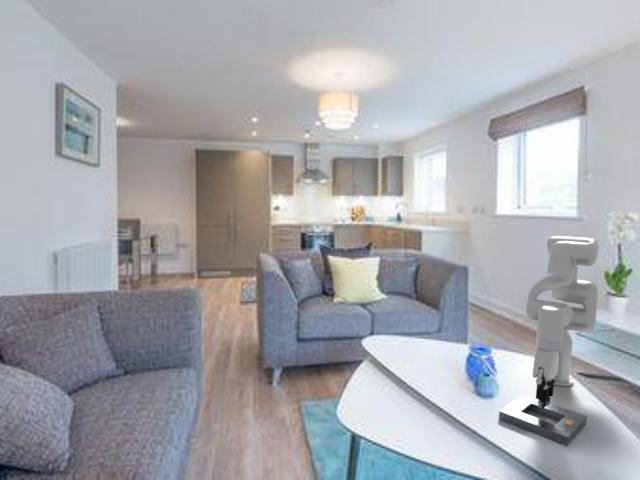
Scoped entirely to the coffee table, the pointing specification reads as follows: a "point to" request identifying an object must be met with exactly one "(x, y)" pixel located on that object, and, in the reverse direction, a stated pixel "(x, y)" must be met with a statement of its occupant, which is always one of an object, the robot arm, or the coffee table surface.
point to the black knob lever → (547, 403)
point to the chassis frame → (559, 433)
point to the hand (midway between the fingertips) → (544, 396)
